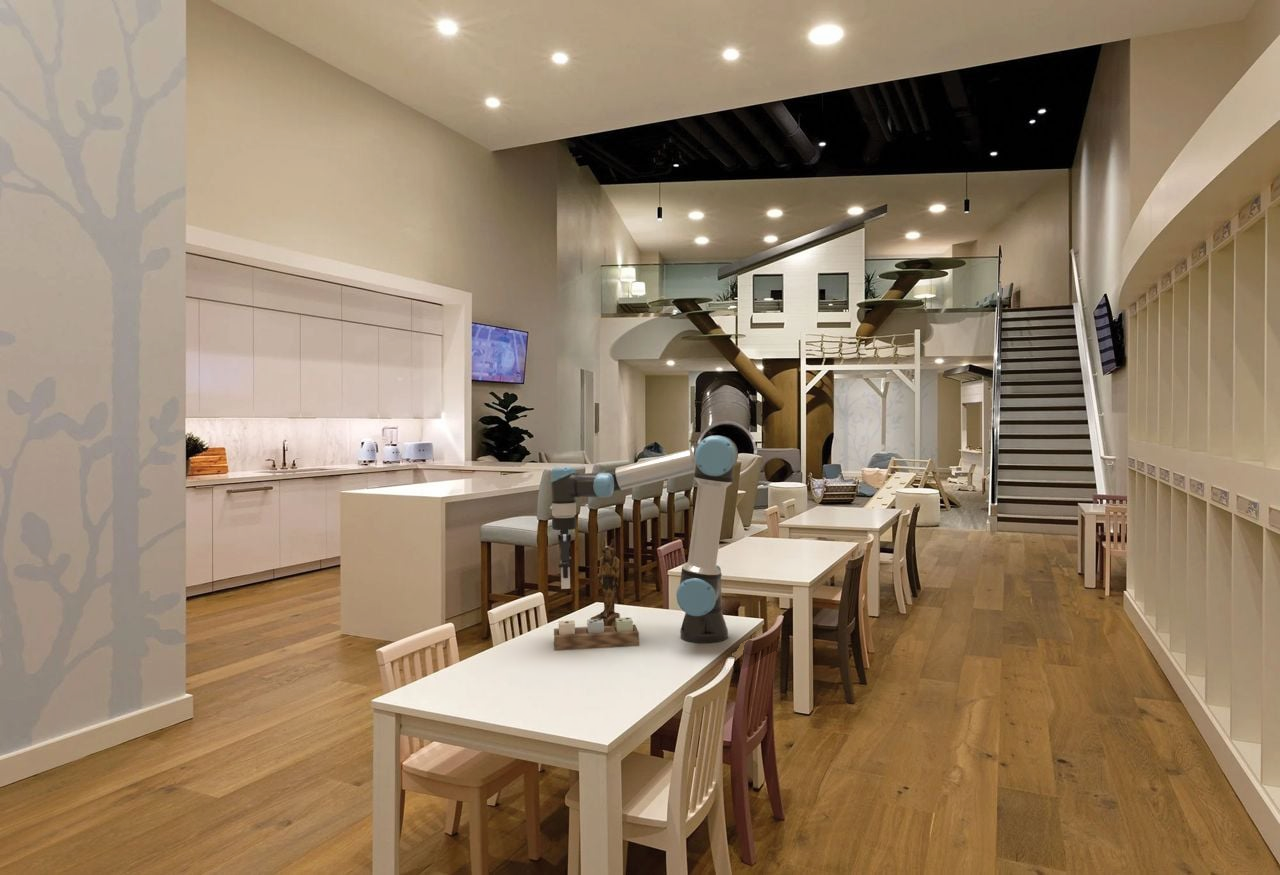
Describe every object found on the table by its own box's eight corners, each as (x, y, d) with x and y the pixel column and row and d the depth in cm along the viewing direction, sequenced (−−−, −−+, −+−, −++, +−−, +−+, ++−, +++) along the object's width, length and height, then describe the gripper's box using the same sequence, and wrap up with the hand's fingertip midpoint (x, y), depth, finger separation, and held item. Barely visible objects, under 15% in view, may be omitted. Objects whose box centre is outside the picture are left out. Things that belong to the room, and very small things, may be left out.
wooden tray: (635, 636, 259) (634, 624, 259) (639, 645, 248) (638, 632, 248) (554, 641, 256) (553, 628, 256) (554, 650, 245) (554, 637, 245)
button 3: (603, 631, 255) (602, 618, 255) (604, 635, 250) (603, 621, 250) (587, 632, 254) (587, 619, 254) (588, 636, 249) (587, 622, 249)
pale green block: (631, 630, 256) (631, 616, 256) (633, 633, 251) (632, 620, 251) (615, 630, 255) (615, 617, 255) (617, 634, 250) (616, 621, 250)
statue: (589, 631, 268) (587, 541, 268) (603, 623, 278) (601, 537, 278) (611, 632, 265) (609, 542, 265) (624, 625, 275) (621, 537, 275)
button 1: (574, 633, 254) (574, 619, 254) (575, 636, 249) (574, 623, 249) (558, 633, 253) (558, 620, 253) (559, 637, 248) (558, 624, 248)
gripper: (552, 513, 264) (553, 577, 264) (551, 521, 239) (553, 592, 239) (575, 512, 264) (576, 577, 265) (576, 520, 240) (578, 591, 240)
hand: (565, 584), depth 252 cm, fingers open, 13 cm apart
